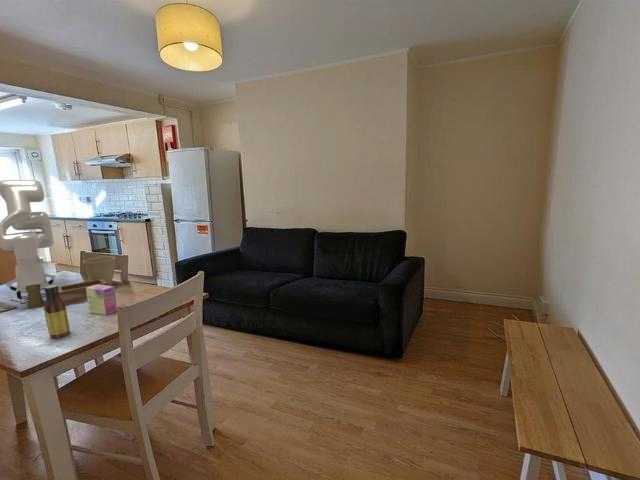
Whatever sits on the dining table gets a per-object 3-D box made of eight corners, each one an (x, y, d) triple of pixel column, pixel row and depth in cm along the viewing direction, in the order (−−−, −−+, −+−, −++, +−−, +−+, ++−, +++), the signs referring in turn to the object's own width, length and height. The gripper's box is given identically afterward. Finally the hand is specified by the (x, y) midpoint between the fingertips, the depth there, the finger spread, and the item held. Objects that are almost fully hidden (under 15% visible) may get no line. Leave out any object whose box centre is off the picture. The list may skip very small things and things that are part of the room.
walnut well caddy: (57, 300, 158) (55, 287, 157) (104, 290, 172) (102, 278, 171) (60, 306, 150) (58, 292, 148) (109, 296, 164) (108, 283, 162)
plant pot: (106, 281, 188) (103, 255, 186) (124, 284, 183) (121, 257, 180) (80, 289, 175) (76, 261, 172) (98, 292, 169) (94, 263, 167)
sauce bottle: (57, 331, 124) (49, 283, 121) (74, 331, 125) (66, 282, 121) (44, 339, 118) (35, 288, 114) (62, 339, 118) (54, 288, 115)
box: (117, 310, 144) (114, 286, 142) (105, 315, 139) (102, 290, 137) (101, 308, 148) (97, 283, 146) (89, 312, 142) (85, 287, 140)
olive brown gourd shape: (34, 309, 148) (30, 286, 146) (24, 308, 149) (20, 285, 147) (47, 304, 153) (44, 282, 151) (38, 303, 155) (34, 281, 153)
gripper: (51, 257, 156) (57, 290, 159) (2, 263, 144) (9, 299, 147) (53, 259, 151) (58, 293, 154) (2, 266, 139) (9, 303, 142)
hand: (34, 296), depth 150 cm, fingers open, 9 cm apart
